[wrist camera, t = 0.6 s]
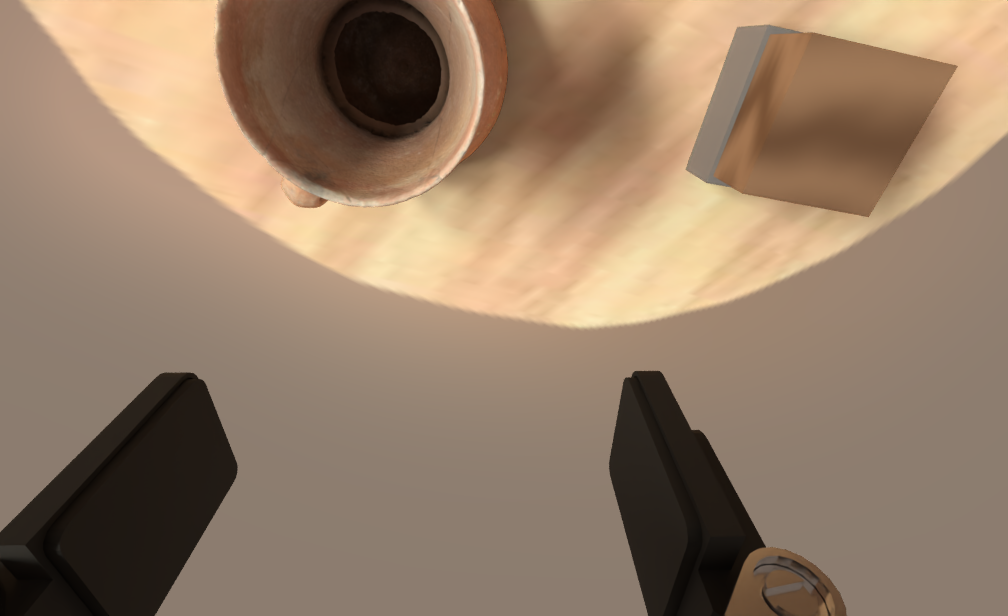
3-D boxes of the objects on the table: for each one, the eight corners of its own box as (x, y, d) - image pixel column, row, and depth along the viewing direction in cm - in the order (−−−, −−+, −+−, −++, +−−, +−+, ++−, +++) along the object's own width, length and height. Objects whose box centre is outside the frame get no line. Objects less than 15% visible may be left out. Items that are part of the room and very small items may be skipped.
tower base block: (735, 27, 33) (768, 24, 29) (862, 55, 34) (910, 56, 30) (684, 168, 38) (706, 182, 34) (796, 189, 39) (830, 205, 35)
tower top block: (770, 34, 29) (813, 32, 25) (897, 63, 30) (957, 66, 26) (713, 176, 33) (742, 193, 30) (825, 197, 34) (868, 216, 31)
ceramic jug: (392, -144, 28) (303, -291, 15) (561, 42, 33) (595, 44, 20) (252, 98, 34) (112, 130, 22) (409, 223, 39) (366, 306, 27)
